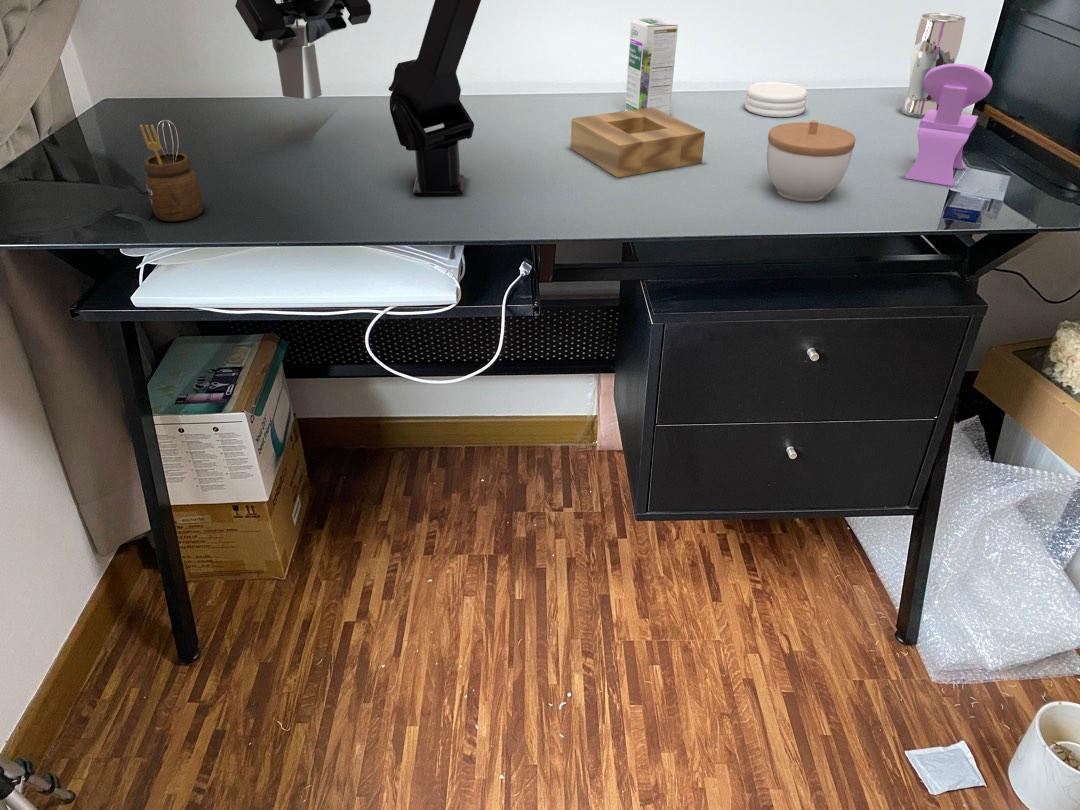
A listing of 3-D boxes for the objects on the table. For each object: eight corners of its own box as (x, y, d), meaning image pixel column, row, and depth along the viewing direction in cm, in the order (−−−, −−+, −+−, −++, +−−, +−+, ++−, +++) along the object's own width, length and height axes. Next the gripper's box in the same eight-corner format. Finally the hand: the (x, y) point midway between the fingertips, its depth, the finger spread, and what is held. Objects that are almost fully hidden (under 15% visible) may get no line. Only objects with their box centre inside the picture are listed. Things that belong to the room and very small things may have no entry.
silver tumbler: (898, 117, 142) (921, 19, 133) (897, 105, 147) (919, 11, 139) (943, 120, 140) (969, 22, 132) (940, 109, 146) (965, 14, 137)
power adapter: (312, 99, 126) (299, 10, 119) (281, 96, 127) (266, 8, 121) (323, 94, 128) (311, 7, 122) (292, 91, 130) (278, 5, 123)
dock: (617, 177, 118) (619, 145, 115) (570, 148, 128) (571, 118, 126) (701, 163, 123) (705, 131, 120) (650, 136, 133) (652, 106, 131)
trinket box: (843, 183, 116) (857, 113, 111) (844, 212, 108) (859, 137, 102) (762, 175, 119) (773, 106, 113) (757, 203, 110) (768, 130, 105)
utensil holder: (210, 204, 109) (189, 109, 103) (195, 223, 104) (172, 124, 98) (164, 205, 109) (139, 109, 103) (147, 224, 104) (119, 125, 97)
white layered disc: (733, 104, 148) (736, 83, 146) (784, 99, 151) (787, 78, 149) (762, 120, 140) (766, 98, 138) (815, 115, 143) (819, 93, 141)
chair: (971, 168, 121) (1003, 57, 113) (961, 187, 115) (995, 71, 106) (910, 158, 124) (937, 49, 116) (897, 176, 118) (925, 62, 110)
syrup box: (623, 112, 144) (628, 19, 136) (653, 108, 146) (660, 16, 138) (640, 121, 140) (647, 26, 132) (671, 117, 142) (679, 22, 134)
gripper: (348, -87, 118) (314, -8, 131) (226, -77, 107) (202, 9, 119) (390, -19, 118) (352, 54, 130) (273, -2, 107) (243, 76, 119)
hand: (289, 47), depth 125 cm, fingers closed on power adapter, 4 cm apart
